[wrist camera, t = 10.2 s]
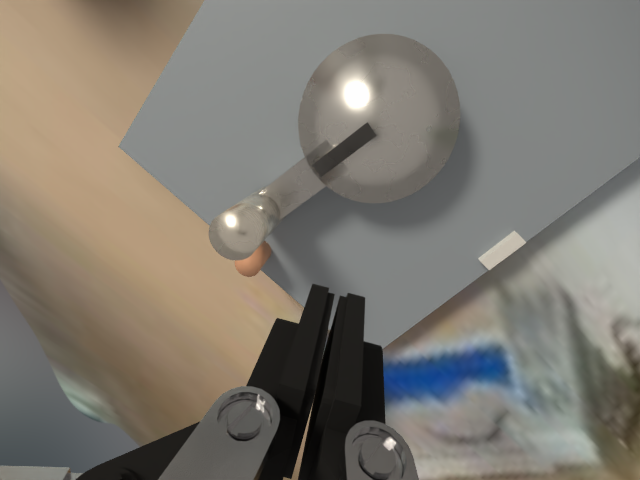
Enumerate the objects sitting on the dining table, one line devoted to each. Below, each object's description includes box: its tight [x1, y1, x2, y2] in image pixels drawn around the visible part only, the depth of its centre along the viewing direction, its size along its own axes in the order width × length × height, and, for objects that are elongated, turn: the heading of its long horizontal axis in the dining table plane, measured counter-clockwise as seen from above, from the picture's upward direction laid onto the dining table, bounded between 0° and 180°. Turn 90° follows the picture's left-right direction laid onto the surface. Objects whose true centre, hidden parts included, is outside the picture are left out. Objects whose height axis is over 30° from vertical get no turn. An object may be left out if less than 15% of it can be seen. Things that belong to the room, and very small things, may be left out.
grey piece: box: [209, 34, 460, 260], centre depth 21 cm, size 16×10×8 cm, turn 127°
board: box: [118, 0, 640, 349], centre depth 23 cm, size 28×30×5 cm
